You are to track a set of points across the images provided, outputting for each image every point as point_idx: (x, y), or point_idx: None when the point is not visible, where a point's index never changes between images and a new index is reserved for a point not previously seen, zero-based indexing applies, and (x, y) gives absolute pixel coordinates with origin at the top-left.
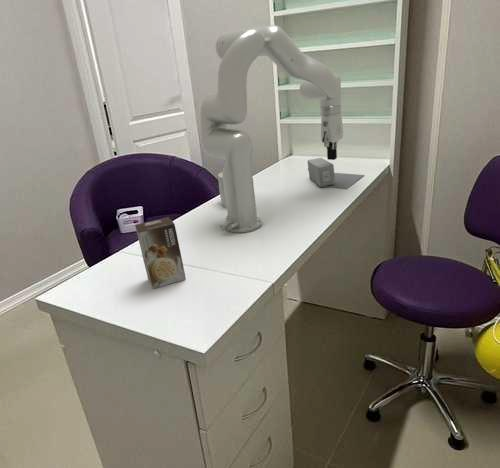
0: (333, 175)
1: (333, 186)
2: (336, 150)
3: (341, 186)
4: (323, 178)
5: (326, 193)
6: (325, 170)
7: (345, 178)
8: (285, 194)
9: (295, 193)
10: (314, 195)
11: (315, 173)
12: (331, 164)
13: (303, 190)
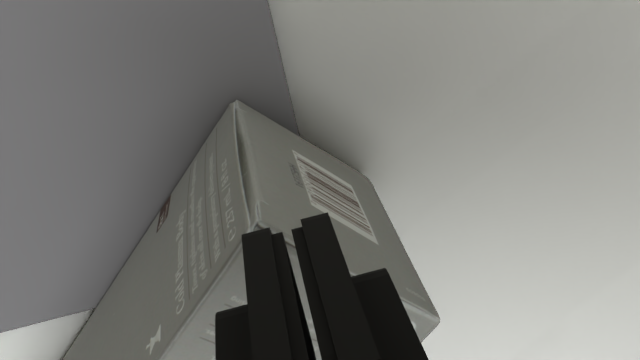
0: (256, 146)
1: (274, 82)
2: (257, 351)
3: (226, 2)
4: (358, 201)
5: (471, 17)
6: (355, 241)
7: None
8: (616, 296)
9: (570, 254)
10: (565, 82)
11: None
12: None
13: (478, 254)
